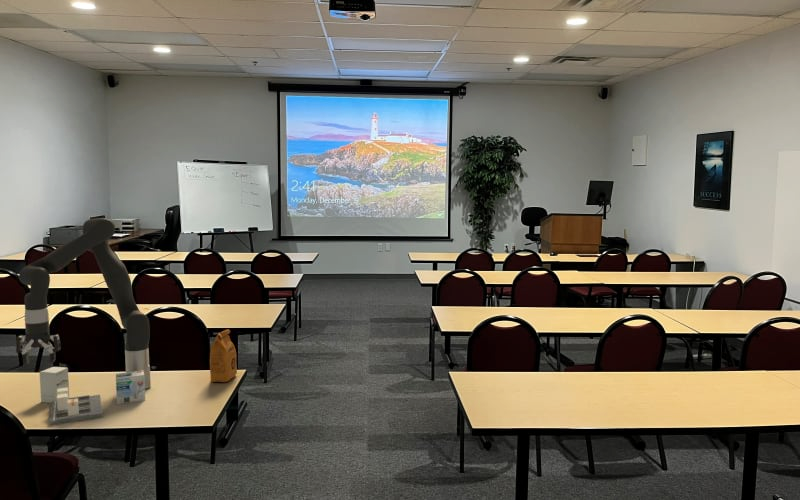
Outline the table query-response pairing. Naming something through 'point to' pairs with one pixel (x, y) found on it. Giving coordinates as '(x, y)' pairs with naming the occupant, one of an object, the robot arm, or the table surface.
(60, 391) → the handle
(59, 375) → the supplement box
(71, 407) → the block
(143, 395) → the light bulb box
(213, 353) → the coffee package
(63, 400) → the handle
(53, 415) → the grey flat slotted panel
